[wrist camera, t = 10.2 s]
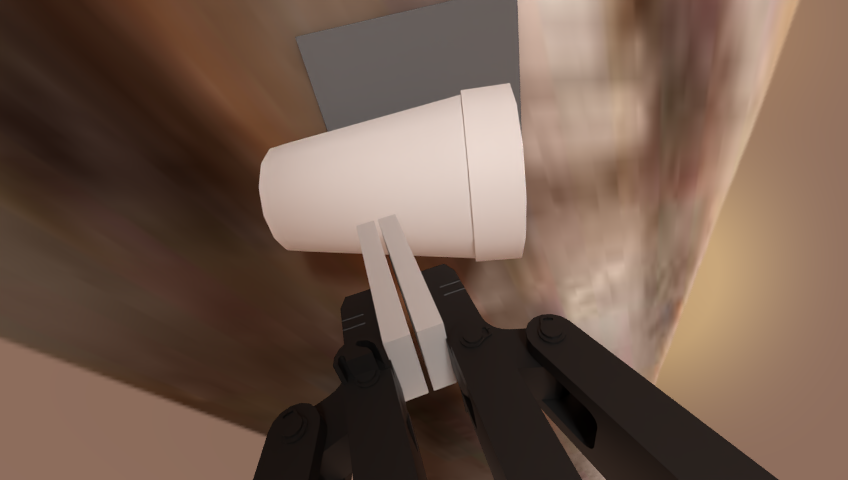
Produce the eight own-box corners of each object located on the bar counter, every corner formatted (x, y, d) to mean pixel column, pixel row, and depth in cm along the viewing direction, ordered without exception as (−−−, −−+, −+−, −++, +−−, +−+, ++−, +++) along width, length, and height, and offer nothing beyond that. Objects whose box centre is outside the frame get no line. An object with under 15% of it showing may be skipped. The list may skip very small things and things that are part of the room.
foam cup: (319, 149, 26) (496, 126, 24) (327, 273, 26) (509, 258, 24) (234, 86, 17) (512, 41, 15) (242, 280, 16) (534, 256, 14)
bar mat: (295, 36, 21) (295, 37, 20) (513, -14, 22) (516, -15, 22) (369, 252, 30) (370, 254, 29) (521, 204, 31) (523, 206, 31)
